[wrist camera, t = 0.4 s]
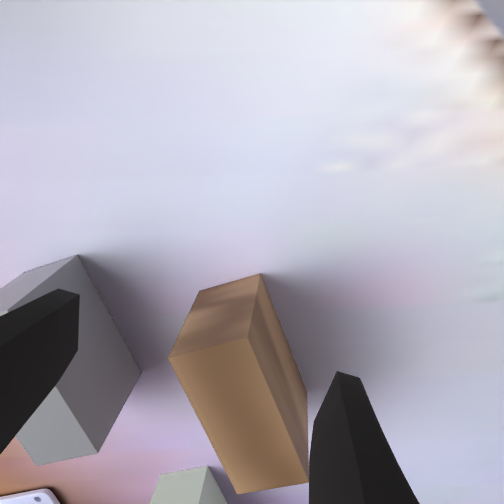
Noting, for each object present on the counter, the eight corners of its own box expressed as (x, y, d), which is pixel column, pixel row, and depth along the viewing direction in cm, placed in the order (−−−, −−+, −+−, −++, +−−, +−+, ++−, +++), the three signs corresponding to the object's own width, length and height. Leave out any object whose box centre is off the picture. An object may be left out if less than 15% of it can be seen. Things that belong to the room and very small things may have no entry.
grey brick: (92, 384, 26) (36, 466, 21) (25, 271, 24) (-60, 330, 18) (142, 371, 25) (97, 453, 20) (78, 253, 23) (7, 310, 17)
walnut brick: (250, 403, 25) (237, 494, 20) (199, 290, 23) (167, 358, 17) (306, 391, 25) (308, 482, 19) (260, 272, 22) (247, 337, 16)
